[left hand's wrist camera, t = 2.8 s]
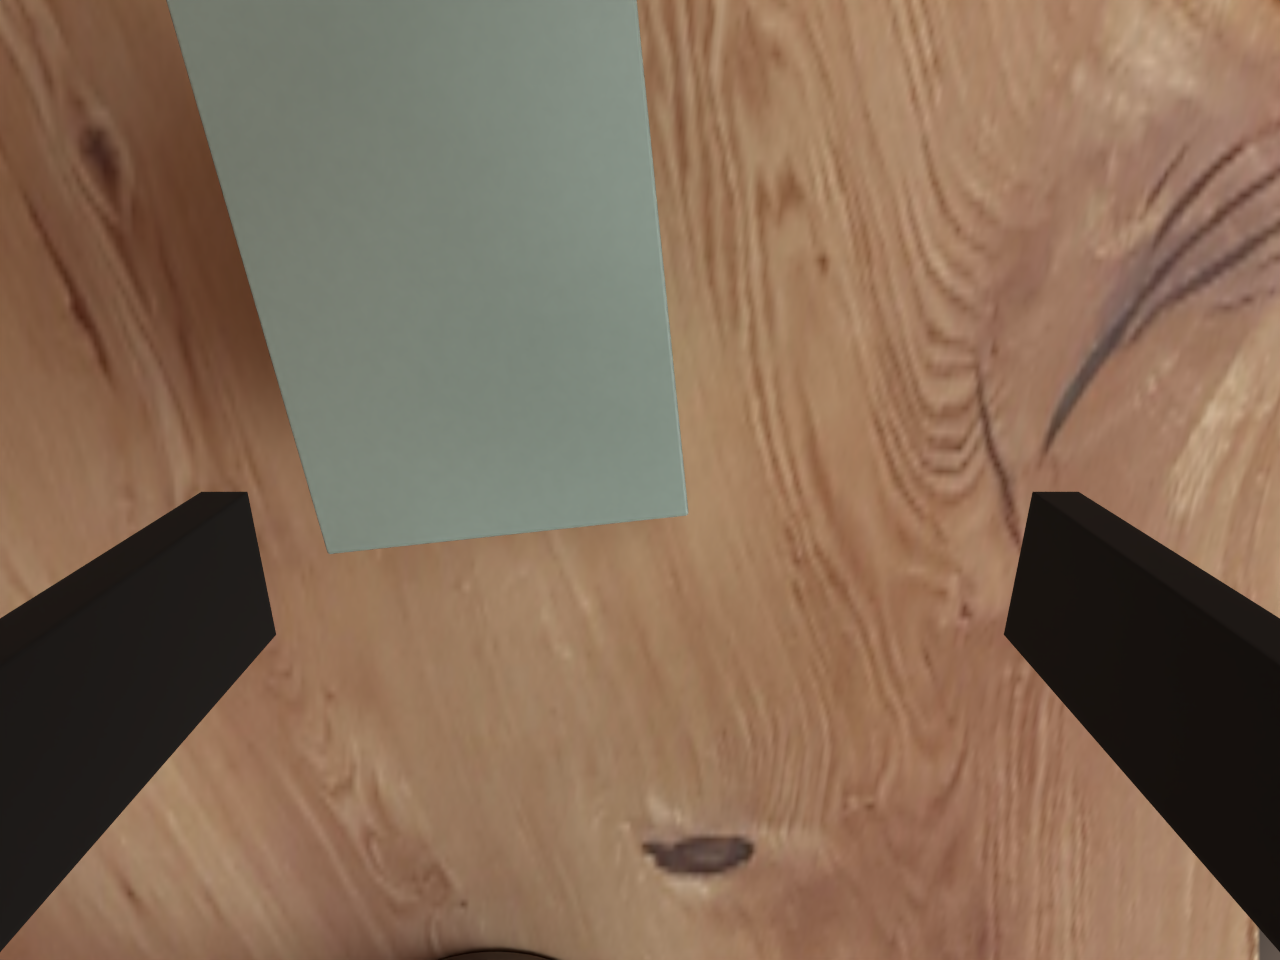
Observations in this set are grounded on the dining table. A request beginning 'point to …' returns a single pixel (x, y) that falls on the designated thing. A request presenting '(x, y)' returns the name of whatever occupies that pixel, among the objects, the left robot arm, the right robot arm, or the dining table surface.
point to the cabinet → (449, 256)
